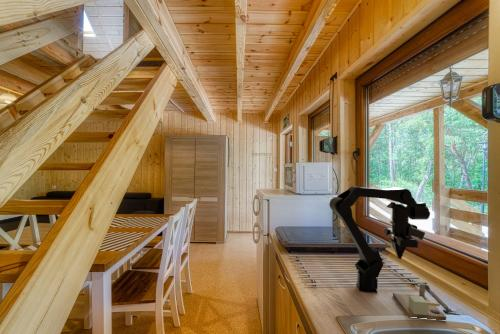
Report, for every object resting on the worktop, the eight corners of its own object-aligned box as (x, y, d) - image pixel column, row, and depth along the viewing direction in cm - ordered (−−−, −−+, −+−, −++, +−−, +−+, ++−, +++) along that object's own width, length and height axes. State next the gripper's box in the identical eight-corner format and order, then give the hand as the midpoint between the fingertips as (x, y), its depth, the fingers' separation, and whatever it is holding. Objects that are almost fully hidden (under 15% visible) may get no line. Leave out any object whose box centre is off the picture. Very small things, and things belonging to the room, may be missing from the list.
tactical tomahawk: (468, 319, 86) (468, 316, 85) (444, 315, 87) (445, 311, 87) (438, 289, 106) (438, 286, 106) (420, 285, 107) (420, 283, 107)
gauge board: (408, 317, 84) (408, 297, 84) (392, 296, 98) (393, 279, 98) (446, 321, 82) (446, 301, 82) (425, 299, 96) (425, 282, 96)
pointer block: (413, 313, 84) (414, 301, 84) (408, 307, 88) (408, 295, 88) (442, 316, 82) (442, 304, 82) (435, 309, 86) (435, 297, 86)
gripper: (434, 225, 94) (434, 269, 94) (411, 215, 112) (411, 252, 112) (401, 224, 96) (400, 266, 96) (384, 214, 114) (383, 250, 114)
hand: (399, 258), depth 105 cm, fingers closed
